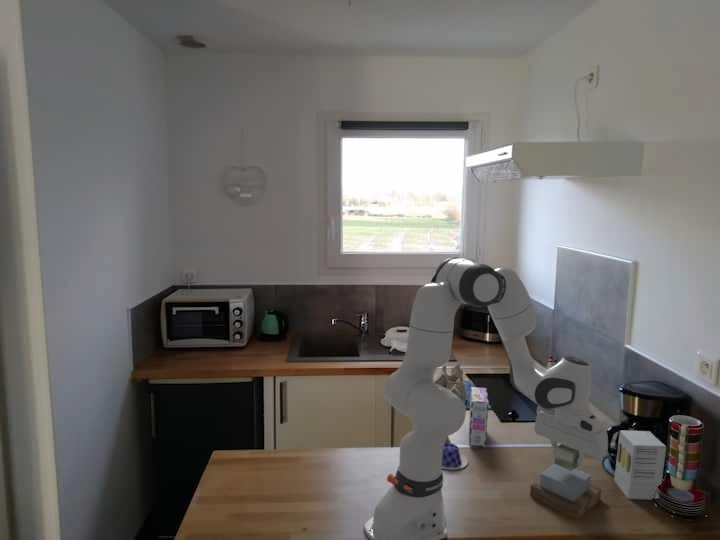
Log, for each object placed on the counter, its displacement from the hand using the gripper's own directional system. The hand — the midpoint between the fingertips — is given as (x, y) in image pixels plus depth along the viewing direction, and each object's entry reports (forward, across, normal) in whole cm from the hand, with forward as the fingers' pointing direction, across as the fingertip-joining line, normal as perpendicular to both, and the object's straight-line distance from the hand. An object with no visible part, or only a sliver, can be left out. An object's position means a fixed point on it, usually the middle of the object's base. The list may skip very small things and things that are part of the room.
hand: (567, 459), depth 147 cm
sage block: (+2, 0, 0) cm, 2 cm away
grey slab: (+8, 0, 0) cm, 8 cm away
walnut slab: (+12, 0, 0) cm, 12 cm away
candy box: (+12, -38, +10) cm, 41 cm away
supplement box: (+12, +12, +20) cm, 26 cm away
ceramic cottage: (+12, -68, +30) cm, 75 cm away
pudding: (+12, -34, -10) cm, 38 cm away
